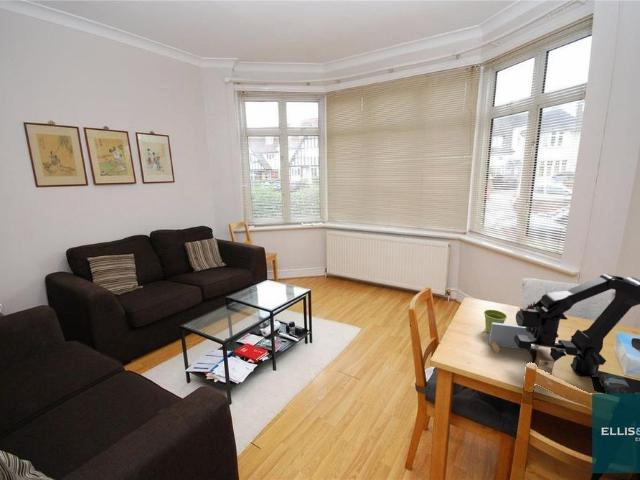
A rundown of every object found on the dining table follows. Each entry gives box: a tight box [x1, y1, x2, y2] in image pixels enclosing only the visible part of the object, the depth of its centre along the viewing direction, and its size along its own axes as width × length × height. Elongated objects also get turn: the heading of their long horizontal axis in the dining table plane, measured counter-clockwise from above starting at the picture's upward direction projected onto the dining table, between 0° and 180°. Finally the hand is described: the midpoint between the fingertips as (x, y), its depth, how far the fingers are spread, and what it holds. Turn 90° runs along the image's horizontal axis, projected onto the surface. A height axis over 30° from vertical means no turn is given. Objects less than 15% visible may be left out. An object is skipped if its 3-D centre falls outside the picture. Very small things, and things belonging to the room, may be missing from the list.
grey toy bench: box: [488, 322, 540, 353], centre depth 126 cm, size 18×6×10 cm, turn 74°
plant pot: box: [483, 309, 508, 334], centre depth 141 cm, size 9×9×9 cm
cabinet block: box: [528, 347, 555, 375], centre depth 116 cm, size 5×7×6 cm
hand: (540, 363), depth 117 cm, fingers closed on cabinet block, 5 cm apart
